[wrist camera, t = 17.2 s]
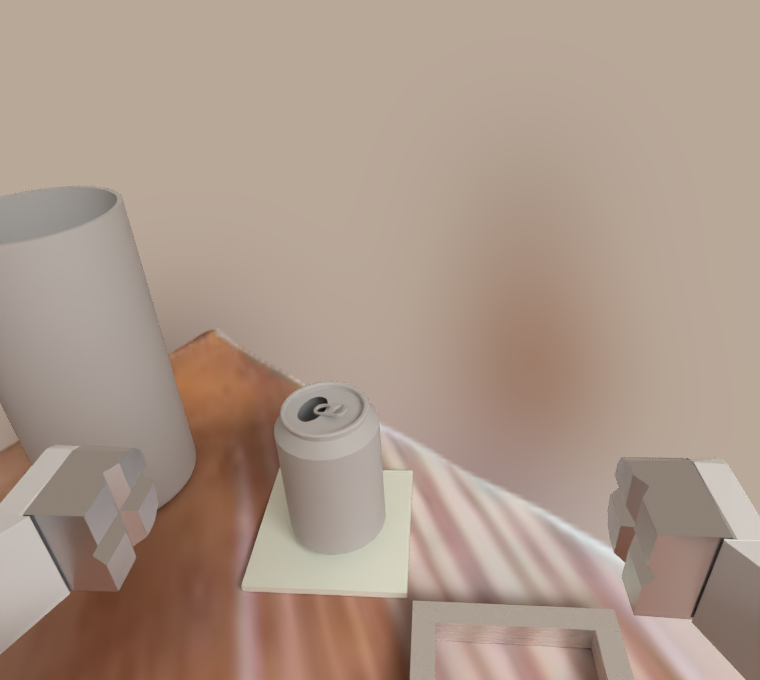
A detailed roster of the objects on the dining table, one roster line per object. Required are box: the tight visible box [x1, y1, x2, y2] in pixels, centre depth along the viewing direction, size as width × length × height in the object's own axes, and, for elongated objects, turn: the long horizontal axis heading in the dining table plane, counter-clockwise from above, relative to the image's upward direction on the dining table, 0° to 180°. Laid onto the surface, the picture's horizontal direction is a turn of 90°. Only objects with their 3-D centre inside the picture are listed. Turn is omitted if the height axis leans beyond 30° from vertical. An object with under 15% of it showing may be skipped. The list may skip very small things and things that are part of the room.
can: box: [274, 381, 386, 555], centre depth 43 cm, size 8×8×12 cm
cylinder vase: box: [0, 186, 196, 509], centre depth 46 cm, size 12×12×25 cm
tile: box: [241, 468, 413, 598], centre depth 46 cm, size 12×12×1 cm
